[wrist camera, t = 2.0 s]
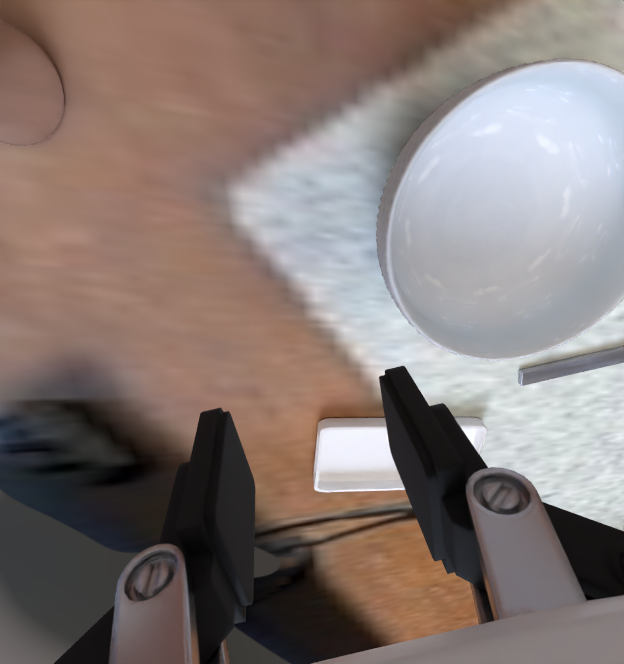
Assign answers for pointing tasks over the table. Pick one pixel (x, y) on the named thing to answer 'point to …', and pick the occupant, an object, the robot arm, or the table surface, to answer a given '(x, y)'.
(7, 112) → the beer glass
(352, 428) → the phone case
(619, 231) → the cereal bowl
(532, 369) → the spoon
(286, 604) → the table surface
